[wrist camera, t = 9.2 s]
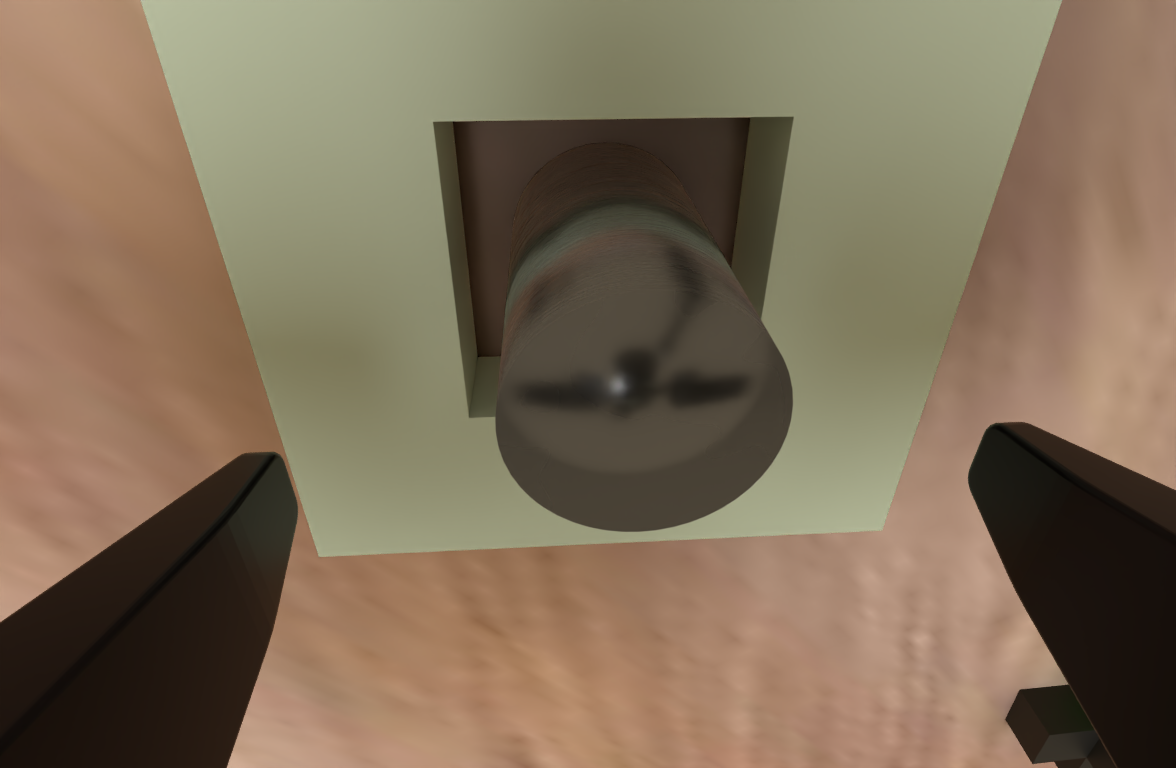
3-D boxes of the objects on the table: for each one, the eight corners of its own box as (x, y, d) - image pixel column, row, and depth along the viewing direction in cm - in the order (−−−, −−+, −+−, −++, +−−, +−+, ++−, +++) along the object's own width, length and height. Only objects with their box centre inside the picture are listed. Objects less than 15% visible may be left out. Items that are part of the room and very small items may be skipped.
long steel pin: (701, 141, 14) (818, 286, 8) (686, 313, 16) (769, 526, 10) (506, 144, 14) (481, 294, 8) (518, 318, 16) (505, 537, 10)
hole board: (1019, -169, 11) (1127, -193, 9) (844, 466, 19) (882, 530, 17) (165, -176, 11) (74, -205, 9) (343, 486, 18) (319, 556, 16)
